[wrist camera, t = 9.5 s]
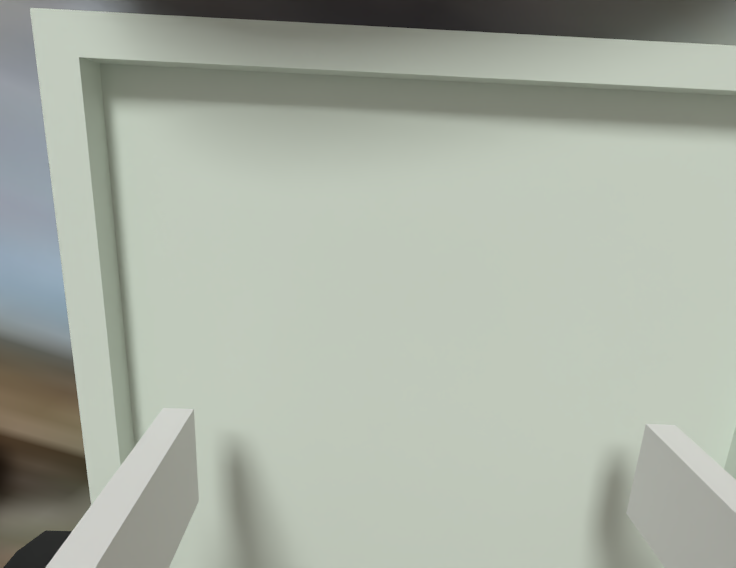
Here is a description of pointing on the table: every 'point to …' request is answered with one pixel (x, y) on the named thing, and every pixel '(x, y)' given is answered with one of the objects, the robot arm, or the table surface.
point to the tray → (394, 277)
